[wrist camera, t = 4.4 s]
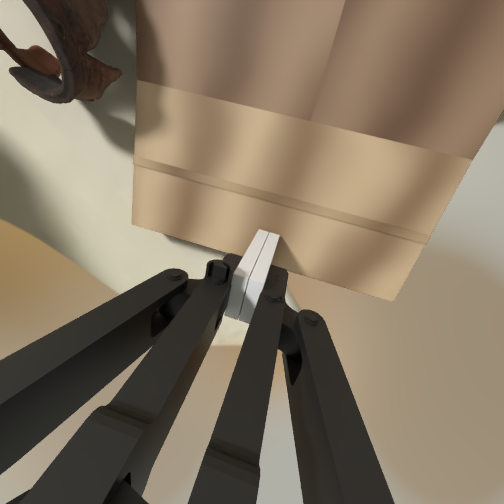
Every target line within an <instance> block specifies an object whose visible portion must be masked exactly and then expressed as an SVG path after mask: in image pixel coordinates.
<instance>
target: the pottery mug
mask: <svg viewBox="0 0 504 504" xmlns="http://www.w3.org/2000/svg"><path fill="white" fill-rule="evenodd" d="M23 2H24V3H25V4H26V5H27V7H28V8H29V9H30V11H31V12H32V13H33V15H34V16H35V18H36V19H37V21H38V22H39V24H40V26H41V27H42V29H43V31H44V32H45V34H46V36H47V38H48V39H49V41H50V43H51V45H52V47H53V49H54V51H55V53H56V55H57V59H56V58H55V57H54V56H53V55H52V54H50V53H49V52H47V51H46V50H45V49H43V48H41V47H40V46H37V45H35V46H31V47H30V48H29V49H27V50H26V49H18V48H16V47H15V45H14V44H13V43H12V42H11V41H10V40H9V39H8V38H7V36H6V35H5V34H4V33H3V31H2V30H1V29H0V50H4V51H5V52H6V53H7V54H8V55H9V56H10V57H11V58H12V59H13V60H14V61H15V62H16V63H18V64H19V65H20V66H21V67H11V68H9V72H10V74H11V75H12V76H14V78H15V79H16V80H17V81H18V82H19V83H20V84H21V85H22V86H23V87H25V88H26V89H28V90H29V91H31V92H32V93H34V94H36V95H38V96H39V97H41V98H43V99H45V100H47V101H50V102H52V103H59V104H62V103H69V102H71V101H72V100H73V99H77V100H81V101H89V102H92V101H94V100H98V99H100V98H101V97H102V94H103V93H104V90H105V89H106V88H107V87H108V86H109V85H110V84H111V83H112V82H115V81H116V80H117V79H118V78H119V77H120V76H121V75H122V71H121V70H120V69H118V68H113V67H110V66H108V65H106V64H104V63H103V62H101V61H99V60H98V59H96V58H94V57H92V56H91V55H89V54H88V53H87V52H88V51H89V50H91V49H93V48H95V47H96V45H97V43H98V41H99V38H100V35H101V30H102V27H103V26H104V24H105V23H106V21H107V10H106V6H105V1H104V0H23ZM61 72H62V81H61V80H60V78H58V77H59V76H60V73H61Z"/></svg>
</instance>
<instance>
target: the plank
mask: <svg viewBox="0 0 504 504" xmlns="http://www.w3.org/2000/svg"><path fill="white" fill-rule="evenodd" d="M471 162H472V160H470V159H466V158H462V157H458V156H454V155H449V154H445V153H441V152H437V151H433V150H429V149H424V148H420V147H416V146H412V145H408V144H403V143H399V142H395V141H391V140H387V139H383V138H378V137H374V136H370V135H366V134H362V133H357V132H353V131H349V130H345V129H341V128H337V127H332V126H328V125H324V124H320V123H316V122H312V121H307V120H303V119H299V118H295V117H291V116H286V115H282V114H278V113H274V112H270V111H266V110H261V109H257V108H253V107H249V106H245V105H240V104H236V103H232V102H228V101H224V100H220V99H215V98H211V97H207V96H203V95H199V94H195V93H190V92H186V91H182V90H178V89H174V88H169V87H165V86H161V85H157V84H153V83H149V82H144V81H140V80H137V92H136V120H135V147H134V158H133V164H134V175H133V203H132V225H136V226H139V227H142V228H146V229H149V230H152V231H156V232H159V233H162V234H166V235H169V236H173V237H176V238H179V239H183V240H186V241H189V242H193V243H196V244H199V245H203V246H206V247H210V248H213V249H216V250H220V251H223V252H226V253H233V254H237V255H240V256H244V254H245V253H246V251H247V249H248V247H249V246H250V244H251V242H252V240H253V239H254V237H255V235H256V233H257V232H258V230H259V229H261V230H264V231H267V232H269V233H270V232H271V233H274V234H278V235H280V236H279V239H278V243H277V246H276V249H275V253H274V256H273V259H272V263H271V265H274V266H278V267H281V268H284V269H286V270H287V271H290V272H294V273H297V274H300V275H304V276H307V277H311V278H314V279H317V280H321V281H324V282H327V283H331V284H334V285H337V286H341V287H344V288H347V289H351V290H354V291H358V292H361V293H364V294H368V295H371V296H375V297H378V298H381V299H384V300H388V301H391V302H394V300H395V298H396V296H397V295H398V293H399V291H400V289H401V288H402V286H403V284H404V282H405V280H406V278H407V277H408V275H409V273H410V271H411V269H412V268H413V266H414V264H415V262H416V261H417V259H418V257H419V255H420V253H421V251H422V250H423V248H424V246H425V245H426V244H427V242H428V240H429V239H430V237H431V234H432V232H433V230H434V228H435V226H436V225H437V223H438V221H439V219H440V217H441V216H442V214H443V212H444V211H445V209H446V207H447V205H448V203H449V201H450V200H451V198H452V196H453V194H454V192H455V190H456V189H457V187H458V185H459V184H460V182H461V180H462V178H463V176H464V175H465V173H466V171H467V169H468V168H469V166H470V164H471ZM268 235H269V234H268Z"/></svg>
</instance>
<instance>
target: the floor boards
mask: <svg viewBox="0 0 504 504" xmlns="http://www.w3.org/2000/svg"><path fill="white" fill-rule="evenodd" d="M136 42H137V80H140V81H144V82H149V83H153V84H157V85H161V86H165V87H169V88H174V89H178V90H182V91H186V92H190V93H195V94H199V95H203V96H207V97H211V98H215V99H220V100H224V101H228V102H232V103H236V104H240V105H245V106H249V107H253V108H257V109H261V110H266V111H270V112H274V113H278V114H282V115H286V116H291V117H295V118H299V119H303V120H307V121H312V122H316V123H320V124H324V125H328V126H332V127H337V128H341V129H345V130H349V131H353V132H357V133H362V134H366V135H370V136H374V137H378V138H383V139H387V140H391V141H395V142H399V143H403V144H408V145H412V146H416V147H420V148H424V149H429V150H433V151H437V152H441V153H445V154H449V155H454V156H458V157H462V158H466V159H470V160H473V159H474V157H475V155H476V154H477V152H478V151H479V149H480V147H481V146H482V144H483V142H484V141H485V139H486V137H487V136H488V134H489V133H490V131H491V129H492V128H493V126H494V125H495V123H496V121H497V120H498V118H499V116H500V115H501V113H502V112H503V110H504V0H136Z"/></svg>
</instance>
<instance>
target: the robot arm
mask: <svg viewBox="0 0 504 504" xmlns="http://www.w3.org/2000/svg"><path fill="white" fill-rule="evenodd" d="M268 234H269V235H268ZM279 236H280V235H278V234H274V233H271V232H270V233H269V232H267V231H264V230H261V229H259V230H258V232H257V233H256V235H255V237H254V239H253V240H252V242H251V244H250V246H249V247H248V249H247V251H246V253H245V254H244V256H240V255H237V254H233V253H230V254H228V255H225V257H224V258H223V260H211V261H209V262H208V263H207V268H206V274H205V277H204V279H188V274H187V273H186V272H185V271H183V270H181V269H175V268H173V269H167V270H164V271H163V272H161V273H159V274H157V275H155V276H153V277H152V278H150V279H148V280H146V281H144V282H143V283H141V284H139V285H137V286H135V287H133V288H132V289H130V290H128V291H126V292H124V293H122V294H121V295H119V296H117V297H115V298H113V299H112V300H110V301H108V302H106V303H104V304H102V305H101V306H99V307H97V308H95V309H93V310H91V311H90V312H88V313H86V314H84V315H82V316H80V317H79V318H77V319H75V320H73V321H71V322H70V323H68V324H66V325H64V326H62V327H60V328H59V329H57V330H55V331H53V332H51V333H49V334H48V335H46V336H44V337H43V338H40V339H39V340H37V341H35V342H33V343H31V344H29V345H27V346H26V347H24V348H22V349H20V350H18V351H17V352H15V353H13V354H11V355H9V356H7V357H6V358H4V359H2V360H0V475H1V474H2V473H3V472H4V471H6V470H7V469H8V468H9V467H11V466H12V465H13V464H14V463H16V462H17V461H18V460H19V459H21V458H22V457H23V456H24V455H25V454H26V453H28V452H29V451H30V450H31V449H32V448H33V447H35V446H36V445H37V444H38V443H39V442H40V441H42V440H43V439H44V438H45V437H46V436H47V435H49V433H51V432H52V431H53V430H55V429H56V428H57V427H58V426H59V425H60V424H62V423H63V422H64V421H65V420H66V419H67V418H69V417H70V416H71V415H72V414H73V413H74V412H76V411H77V410H78V409H79V408H80V407H81V406H83V405H84V404H85V403H86V402H87V401H88V400H90V399H91V398H92V397H93V396H94V395H95V394H97V393H98V392H99V391H100V390H101V389H103V388H104V387H105V386H106V385H107V384H108V383H110V382H111V381H112V380H113V379H114V378H115V377H117V376H118V375H119V374H120V373H121V372H122V371H123V370H125V369H126V368H127V367H128V366H129V365H131V364H132V363H133V362H134V361H135V360H136V359H138V357H140V356H141V355H142V354H143V353H145V352H146V351H147V350H148V349H149V348H150V347H152V348H151V349H150V350H149V352H148V353H147V355H146V356H145V357H144V359H143V360H142V361H141V362H140V364H139V365H138V366H137V368H136V369H135V371H134V372H133V373H132V375H131V376H130V377H129V378H128V380H127V381H126V382H125V384H124V385H123V387H122V388H121V389H120V390H119V392H118V393H117V394H116V396H115V397H114V398H113V400H112V401H111V402H110V403H109V404H108V405H106V406H100V407H98V408H97V409H96V410H94V411H93V413H91V415H90V416H89V417H88V418H87V419H86V420H85V421H84V423H83V424H82V425H81V427H80V428H79V429H78V430H77V432H76V433H75V434H74V435H73V437H72V438H71V439H70V440H69V442H68V443H67V444H66V446H65V447H64V448H63V449H62V450H61V452H60V453H59V454H58V456H57V457H56V458H55V460H54V461H53V462H52V463H51V464H50V466H49V467H48V468H47V470H46V471H45V472H44V473H43V475H42V476H41V477H40V478H39V480H38V481H37V482H36V483H35V485H34V486H33V487H32V488H31V489H30V490H28V491H26V492H24V493H23V494H21V495H19V496H18V497H16V498H14V499H13V500H11V501H9V502H8V503H6V504H148V503H147V502H146V501H145V500H144V499H143V498H142V494H143V492H144V489H145V486H146V484H147V481H148V478H149V475H150V472H151V469H152V467H153V465H154V462H155V460H156V458H157V456H158V454H159V452H160V450H161V448H162V446H163V444H164V441H165V439H166V437H167V435H168V433H169V431H170V429H171V427H172V425H173V423H174V420H175V418H176V416H177V414H178V412H179V410H180V408H181V405H182V404H183V402H184V400H185V397H186V395H187V393H188V391H189V389H190V387H191V385H192V382H193V380H194V378H195V376H196V374H197V372H198V370H199V368H200V366H201V364H202V362H203V360H204V357H205V355H206V353H207V351H208V349H209V347H210V345H211V343H212V341H213V339H214V337H215V335H216V332H217V330H218V328H219V326H220V324H221V322H222V317H223V314H224V312H225V316H228V317H231V318H234V319H237V320H238V318H239V320H240V321H243V322H246V323H249V324H250V325H249V328H248V330H247V333H246V336H245V339H244V342H243V345H242V348H241V351H240V354H239V357H238V360H237V363H236V366H235V369H234V372H233V375H232V378H231V381H230V384H229V386H228V390H227V392H226V395H225V398H224V402H223V404H222V407H221V411H220V413H219V416H218V419H217V422H216V425H215V428H214V431H213V434H212V437H211V440H210V442H209V445H208V447H207V449H206V452H205V455H204V458H203V461H202V464H201V466H200V470H199V472H198V475H197V478H196V481H195V484H194V487H193V490H192V493H191V496H190V498H189V502H188V504H256V500H257V494H258V488H259V480H260V467H259V459H260V452H261V446H262V440H263V434H264V428H265V422H266V416H267V410H268V404H269V398H270V391H271V386H272V380H273V374H274V368H275V362H276V356H277V350H278V349H279V350H281V351H282V352H283V353H282V357H283V364H284V371H285V378H286V385H287V392H288V398H289V405H290V413H291V420H292V426H293V434H294V440H295V447H296V454H297V461H298V468H299V475H300V482H301V489H302V496H303V503H304V504H395V503H394V501H393V498H392V495H391V493H390V490H389V488H388V485H387V483H386V480H385V477H384V474H383V472H382V469H381V467H380V464H379V461H378V459H377V456H376V454H375V451H374V448H373V446H372V443H371V441H370V438H369V435H368V433H367V430H366V427H365V425H364V422H363V420H362V417H361V414H360V412H359V409H358V407H357V404H356V401H355V399H354V396H353V394H352V391H351V388H350V386H349V383H348V380H347V378H346V375H345V373H344V370H343V367H342V365H341V362H340V359H339V357H338V354H337V352H336V349H335V346H334V344H333V341H332V339H331V336H330V333H329V331H328V328H327V326H326V323H325V321H324V319H323V318H322V317H321V316H320V315H319V314H318V313H316V312H314V311H311V310H301V311H300V312H299V313H298V312H296V311H294V310H293V309H291V308H290V307H289V306H288V305H287V304H286V301H285V292H286V286H287V280H288V272H287V270H286V269H284V268H281V267H278V266H274V265H271V263H272V259H273V256H274V253H275V249H276V246H277V243H278V239H279ZM239 315H240V316H239Z"/></svg>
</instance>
